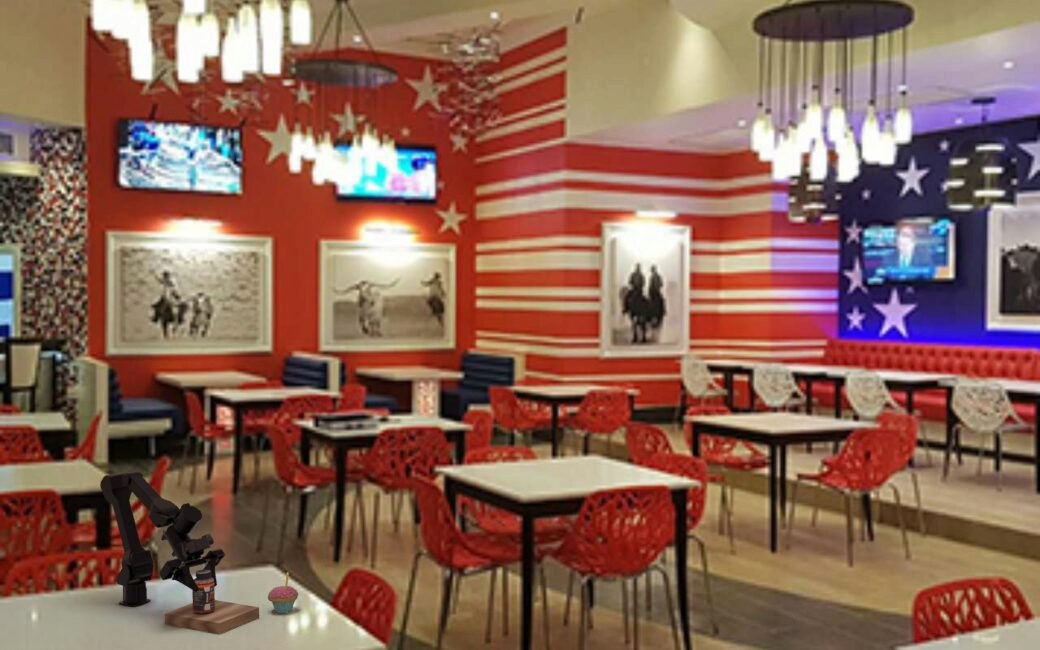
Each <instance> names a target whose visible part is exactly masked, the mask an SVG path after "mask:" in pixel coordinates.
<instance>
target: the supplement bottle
mask: <svg viewBox="0 0 1040 650" xmlns="http://www.w3.org/2000/svg"><path fill="white" fill-rule="evenodd" d="M195 577H196V578H193V579H194V581H195V583H196V585H197V587H198V591H197V592H195V591H193V590H192V589H191V591H192V594H191V595H192V603H193V612H194V613H197V614H206V613H210V612H212V611H214V609H215V600H216V597H215V587H214V579H213V578H211V571H210V570H203V569H198V570H196V572H195Z"/></svg>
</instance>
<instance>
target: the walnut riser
mask: <svg viewBox="0 0 1040 650" xmlns="http://www.w3.org/2000/svg"><path fill="white" fill-rule="evenodd" d="M163 615H164V616H163V618H164V621H163V622H164V625H168V626H173V627H177V628H184V629H189V630H194V631H195V630H196V631H199V632H207V633H209V634H210V633H211V634H217V635H222V634H224V633H226V632H228V631H231V630H233V629H236V628H239V627H240V626H242V625H245V624H247V623H250V622H253V621H256V620H257V619H260V606H253V605H248V604H242V603H237V602H229V601H224V600H219V599H218V600H217V599H215V609H214V611H212V612H210V613H206V614H197V613H194V612H193V602H192V603H189V604H186V605H184V606H181V607H178V608H175V609H173V610H169V611H168V612H167V611H166V612H165V613H164V614H163Z"/></svg>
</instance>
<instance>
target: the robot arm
mask: <svg viewBox="0 0 1040 650" xmlns="http://www.w3.org/2000/svg"><path fill="white" fill-rule="evenodd" d="M99 485H100V490H101V491H102V494H103V497H104V499H105V500H106V501H108V503H110V505H111V506H112V508H113V509H112V510H113V512H114V516H115V521H116V524H117V528H118V532H119V536H120V540H121V543H122V547H123V554H122V555H123V556H122V557H121V561H120V563H121V569H120V571H119V572H118V574H116V577H115V579H116V583H117V584H116V585H119V586H122V601H119V602H118V604H119V605H123V606H128V607H137V606H140V605H143V604H146V603H149V602H151V599H150V598H148V587H147V582H148V581H151V580H152V578H153V574H154V569H155V565H154V563H155V562H154V560H153V557H152V553H151V550H150V549H145V548H144V547H143V546H142V544H141V539H140V535H139V532H138V531H139V530H138V528H137V524H136V519H135V516H134V512H133V509H132V508H133V507H132V505H131V502H130V501H131V500H130V499H131V496H132V493H133V495H134V497H136V498H137V499H138V500H139V501H140V503H142V505H143V506H144V507H145V508H146V510H147V511H148V518H149V520H150V521H151V523H152V524H153V526H154V527H156V529H162V528H166V527H167V528H166V530H165V529H164V530H162V535H161V538H160V539H161V541H167V542H168V544H169V546H170V547H171V550H172V553H171V556H172V557H173V558H174V557H176V558H174V559H170V560H167V561H166V562H165V563H164V565H163V566H162V567H161V568H160V571H159V576H160V578H161V579H162V581H166V580H169V579H171V581H176V582H178V583H180V584H181V585H183V586H185V587H186V588H189V589H190V590H191V591H192V590H193V591H195V592H197V591H198V587H197V585H196V583H195V581H194V579H195V578H194V577H193V576H192V574H191V570H190V569H191V568H194V567H196V566H200V565H201V567H202V568H203V569H202V570H210V571H211V578H213V579H214V588H215V587H217V585H218V582H217V574H216V567H217V566H218V565H219V564H220V563H221V561H222V560H223V559H224V558H225V556H226V553H225V551H224V550H223V548H214V549H210V548H211V546H212V545H214V543H215V542H214V541H215V540H214V538H213V536H212V535H211V534H210V533H207V534H204V535H202V536H201V537H199V538H191V536H190V535H189V534H190V533H193V531H194V529H195V528H196V527H197V526H198V524H199V522H200V521H201V520H202V519H203V514H202V511H201V509H199V508H198V507H196V506H193V505H191V504H190V503H189V502H186V503H182V504H181V506H180V508H179V506H178V505H177V504H175V503H173V502H172V501H171V500H168V499H165V498H163V497H162V496H161V495H160V494H159V493H158V492H157V491H156V489H154V488H153V487H152V486H151V485H150V483H149V482H148V481H147V480H146V479H145V478H144V476H143V473H142V472H141V471H136V470H135V471H129V472H117V473H114V474H113V473H112V474H107V475H104V476H103V477H102V479H101V480H100V482H99ZM207 549H210V550H208V552H207V554H205V556H202V555H204V553H205V551H206V550H207Z"/></svg>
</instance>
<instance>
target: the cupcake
mask: <svg viewBox="0 0 1040 650" xmlns="http://www.w3.org/2000/svg"><path fill="white" fill-rule="evenodd" d="M289 575H290V573H289V570H288V571H287V573H286V576H285V584H284V585H280V586H276V587H273V589H271V590H270V591H269V593H268V595H267V601H269V602H271V603H272V606H273V608H274V612H275V613H277V614H288V613H291V612H292V611H293V607H294V604H295V602H296V600H297V599H298V597H299V592H298V590H296V588H294V587H293V586H291V585H289V584H288V583H289ZM287 612H288V613H287Z"/></svg>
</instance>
